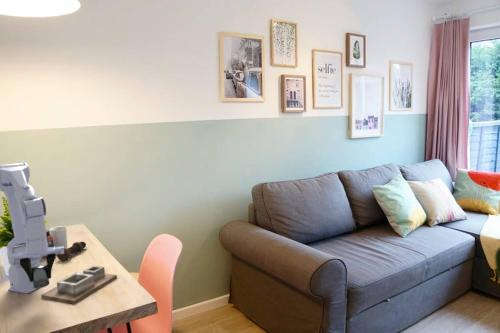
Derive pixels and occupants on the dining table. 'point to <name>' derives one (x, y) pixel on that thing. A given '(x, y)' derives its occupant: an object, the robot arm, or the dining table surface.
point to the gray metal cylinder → (40, 276)
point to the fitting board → (79, 285)
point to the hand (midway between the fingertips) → (40, 279)
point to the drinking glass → (59, 236)
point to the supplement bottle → (49, 240)
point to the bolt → (71, 251)
